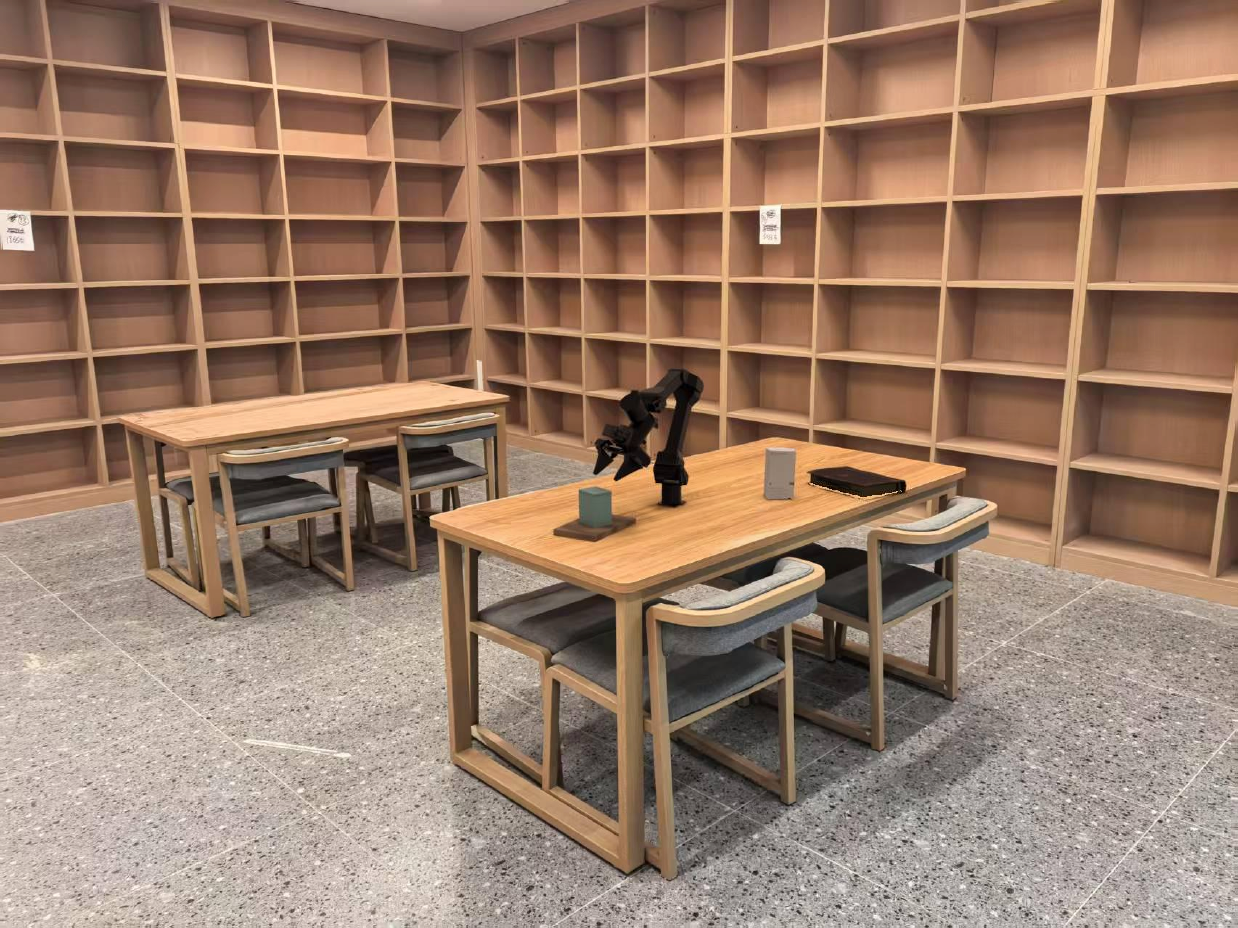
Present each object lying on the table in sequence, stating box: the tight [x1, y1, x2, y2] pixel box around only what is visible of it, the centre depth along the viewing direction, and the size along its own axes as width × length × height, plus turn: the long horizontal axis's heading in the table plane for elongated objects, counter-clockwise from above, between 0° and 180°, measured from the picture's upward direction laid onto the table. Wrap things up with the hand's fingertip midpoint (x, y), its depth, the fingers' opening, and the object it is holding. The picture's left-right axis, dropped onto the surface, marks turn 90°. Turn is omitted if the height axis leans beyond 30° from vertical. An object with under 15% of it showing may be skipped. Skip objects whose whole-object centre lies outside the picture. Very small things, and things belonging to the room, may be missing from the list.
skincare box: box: [763, 446, 797, 500], centre depth 275 cm, size 8×6×15 cm
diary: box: [806, 465, 907, 497], centre depth 286 cm, size 19×25×5 cm
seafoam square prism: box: [578, 485, 613, 528], centre depth 243 cm, size 6×7×9 cm
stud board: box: [553, 514, 637, 543], centre depth 244 cm, size 20×13×5 cm, turn 149°
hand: (604, 477), depth 244 cm, fingers open, 9 cm apart
